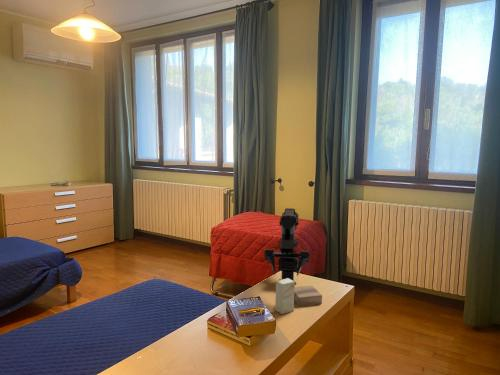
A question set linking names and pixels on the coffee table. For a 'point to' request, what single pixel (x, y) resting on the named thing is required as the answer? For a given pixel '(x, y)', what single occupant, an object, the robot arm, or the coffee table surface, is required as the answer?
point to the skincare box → (284, 295)
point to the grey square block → (307, 296)
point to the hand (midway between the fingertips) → (285, 274)
